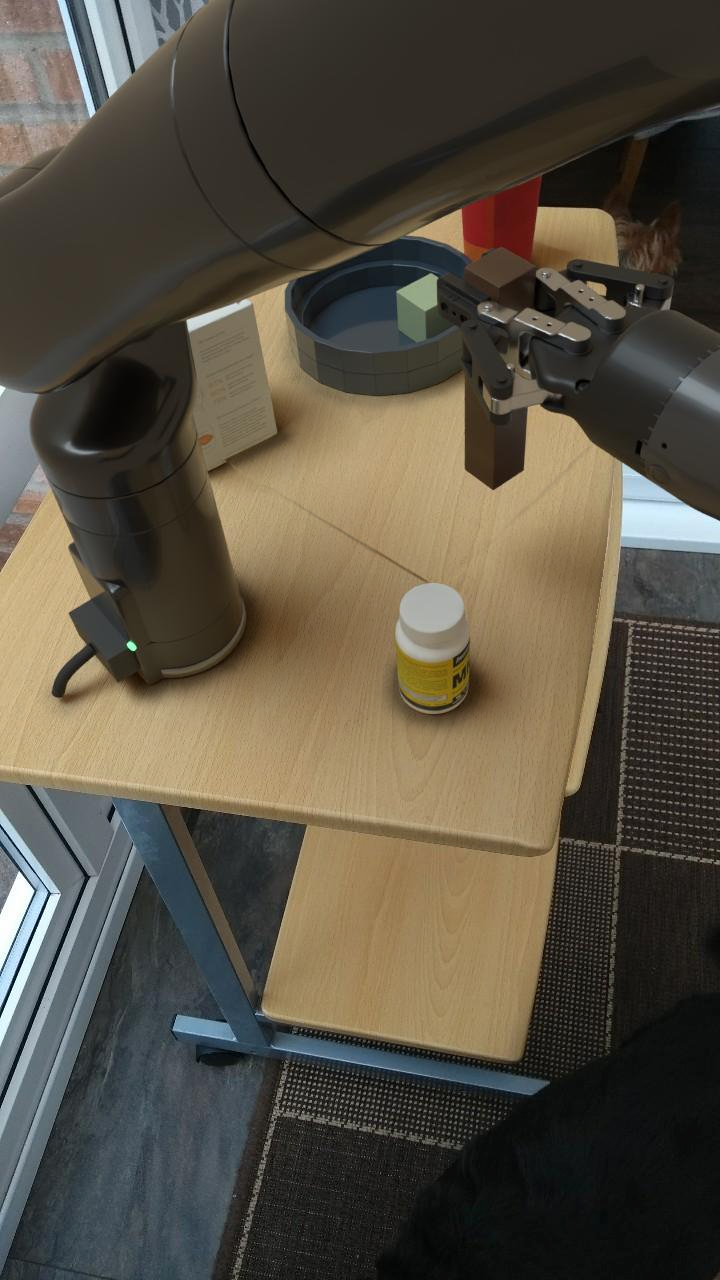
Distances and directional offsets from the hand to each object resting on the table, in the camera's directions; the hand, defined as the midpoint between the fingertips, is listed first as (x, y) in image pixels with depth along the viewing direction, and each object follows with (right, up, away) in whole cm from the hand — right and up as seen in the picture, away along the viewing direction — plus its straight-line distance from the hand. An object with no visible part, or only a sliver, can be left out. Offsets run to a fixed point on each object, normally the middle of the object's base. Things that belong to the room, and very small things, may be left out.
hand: (464, 278), depth 59 cm
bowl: (-4, +6, +33) cm, 34 cm away
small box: (-18, -4, +27) cm, 32 cm away
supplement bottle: (-1, -24, +10) cm, 26 cm away
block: (0, +7, +33) cm, 33 cm away
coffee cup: (+7, +14, +38) cm, 41 cm away
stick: (+3, -10, +9) cm, 13 cm away
